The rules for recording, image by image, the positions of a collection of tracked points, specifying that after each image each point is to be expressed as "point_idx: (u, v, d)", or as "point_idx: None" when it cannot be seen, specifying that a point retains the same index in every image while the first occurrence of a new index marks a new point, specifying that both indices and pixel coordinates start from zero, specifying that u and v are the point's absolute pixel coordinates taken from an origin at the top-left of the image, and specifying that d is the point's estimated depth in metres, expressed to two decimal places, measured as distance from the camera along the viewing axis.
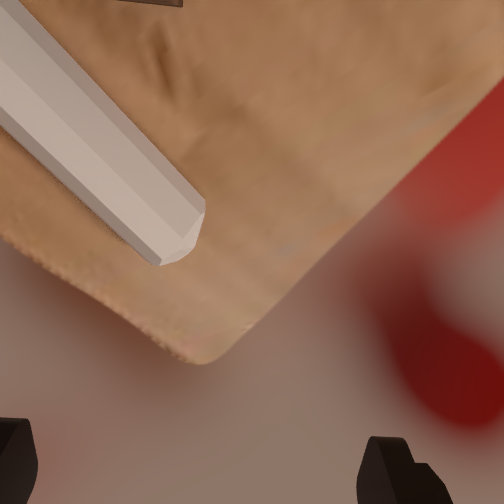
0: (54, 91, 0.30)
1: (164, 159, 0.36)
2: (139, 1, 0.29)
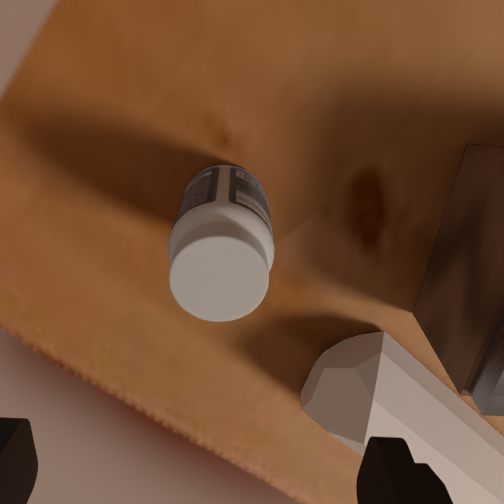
0: (445, 436, 0.27)
1: None
2: None
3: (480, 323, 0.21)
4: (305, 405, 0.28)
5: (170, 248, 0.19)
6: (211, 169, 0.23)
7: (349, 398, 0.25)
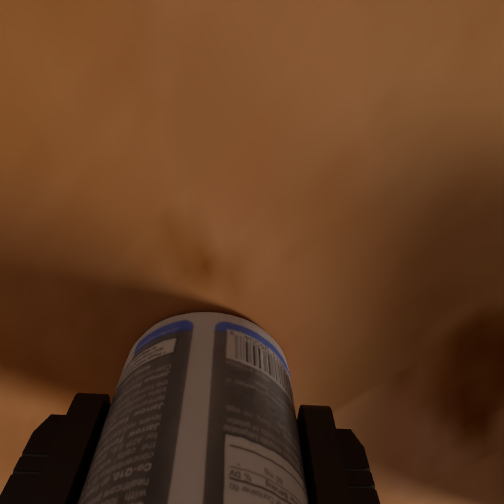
0: None
1: None
2: None
3: None
4: None
5: None
6: (176, 329, 0.11)
7: None
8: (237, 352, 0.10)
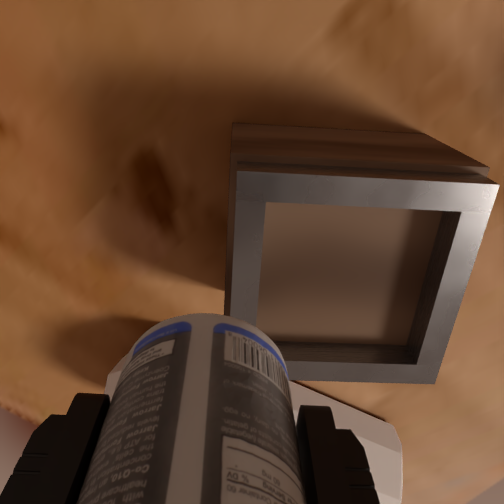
0: None
1: (344, 407, 0.33)
2: None
3: None
4: None
5: None
6: (174, 331, 0.11)
7: None
8: (235, 354, 0.10)
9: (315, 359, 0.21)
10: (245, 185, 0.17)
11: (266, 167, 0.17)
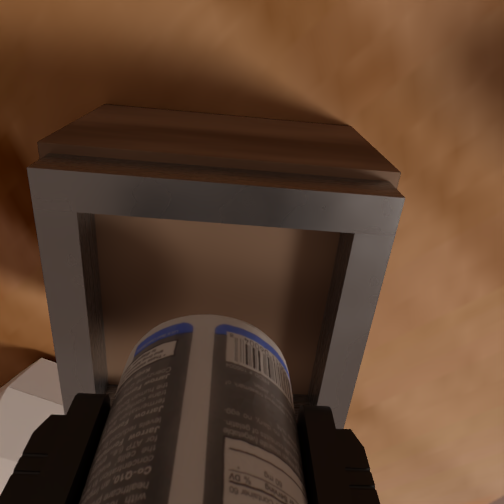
0: None
1: None
2: None
3: None
4: None
5: None
6: (176, 332, 0.11)
7: None
8: (237, 355, 0.10)
9: None
10: (42, 188, 0.12)
11: (79, 164, 0.12)
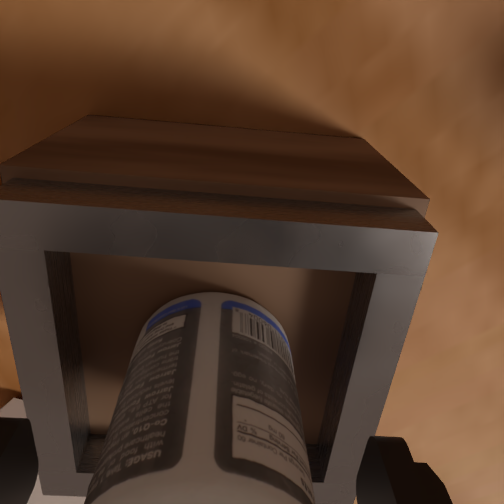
0: None
1: None
2: None
3: None
4: None
5: None
6: (185, 307, 0.12)
7: None
8: (242, 327, 0.11)
9: None
10: (1, 223, 0.10)
11: (47, 192, 0.10)
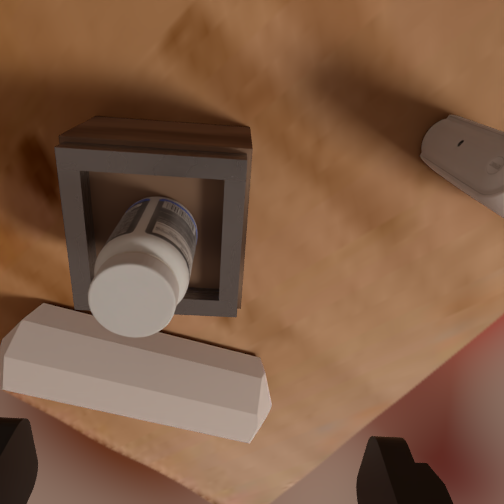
0: (101, 362, 0.35)
1: (209, 347, 0.39)
2: None
3: None
4: None
5: (95, 274, 0.21)
6: (142, 201, 0.25)
7: (2, 361, 0.34)
8: (167, 206, 0.25)
9: None
10: (62, 158, 0.24)
11: (80, 145, 0.24)
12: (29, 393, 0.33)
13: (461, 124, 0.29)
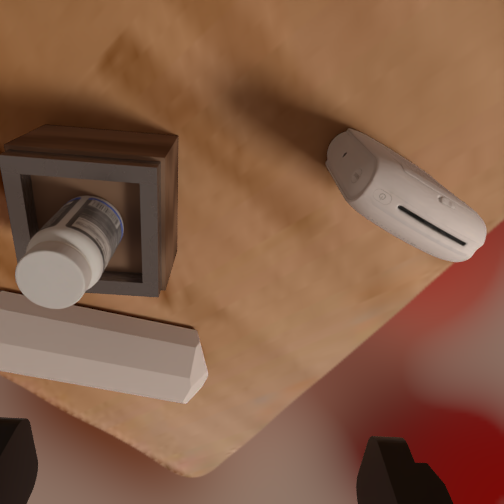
0: (50, 338, 0.41)
1: (150, 323, 0.45)
2: None
3: None
4: None
5: None
6: (74, 199, 0.31)
7: None
8: (93, 204, 0.30)
9: None
10: (5, 163, 0.29)
11: (20, 153, 0.29)
12: None
13: (352, 138, 0.34)
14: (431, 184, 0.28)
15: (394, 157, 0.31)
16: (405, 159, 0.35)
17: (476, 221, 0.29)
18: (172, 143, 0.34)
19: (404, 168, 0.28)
